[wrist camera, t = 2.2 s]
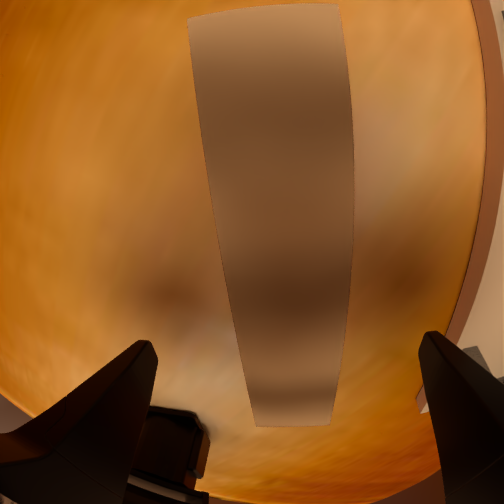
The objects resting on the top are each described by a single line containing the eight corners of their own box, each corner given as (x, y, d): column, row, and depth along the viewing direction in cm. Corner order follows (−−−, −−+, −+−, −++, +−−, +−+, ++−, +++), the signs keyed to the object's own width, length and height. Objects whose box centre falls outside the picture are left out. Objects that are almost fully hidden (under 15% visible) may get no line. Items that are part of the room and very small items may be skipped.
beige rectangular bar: (326, 381, 18) (329, 424, 15) (260, 383, 19) (255, 426, 16) (323, 30, 9) (338, 4, 6) (212, 40, 10) (186, 18, 6)
